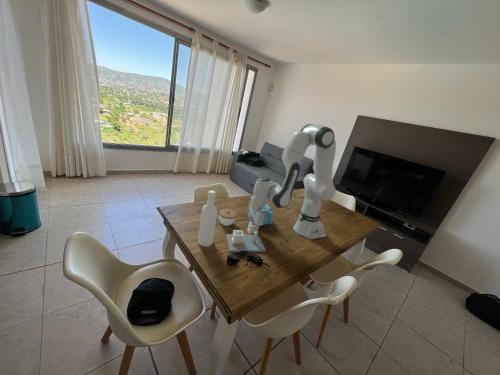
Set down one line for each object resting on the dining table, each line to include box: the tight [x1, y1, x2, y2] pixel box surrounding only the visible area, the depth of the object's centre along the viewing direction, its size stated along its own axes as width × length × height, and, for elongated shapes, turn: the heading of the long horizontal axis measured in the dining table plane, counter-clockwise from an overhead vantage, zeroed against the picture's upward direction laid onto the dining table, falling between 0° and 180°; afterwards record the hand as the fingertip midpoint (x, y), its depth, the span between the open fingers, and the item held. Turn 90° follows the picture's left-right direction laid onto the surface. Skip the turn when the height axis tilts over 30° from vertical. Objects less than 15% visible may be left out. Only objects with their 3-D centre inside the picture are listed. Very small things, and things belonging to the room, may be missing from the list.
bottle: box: [197, 189, 218, 248], centre depth 105 cm, size 8×8×30 cm
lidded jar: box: [218, 208, 237, 227], centre depth 129 cm, size 11×11×9 cm
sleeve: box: [246, 221, 260, 235], centre depth 126 cm, size 6×6×6 cm
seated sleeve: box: [231, 229, 244, 245], centre depth 113 cm, size 6×6×6 cm
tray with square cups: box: [225, 231, 266, 253], centre depth 114 cm, size 20×14×8 cm
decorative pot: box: [247, 203, 274, 227], centre depth 139 cm, size 16×16×14 cm
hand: (252, 223), depth 125 cm, fingers open, 8 cm apart
